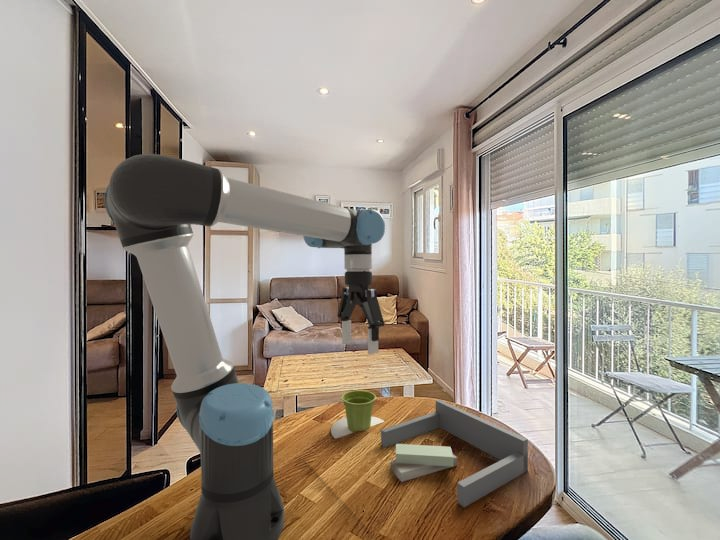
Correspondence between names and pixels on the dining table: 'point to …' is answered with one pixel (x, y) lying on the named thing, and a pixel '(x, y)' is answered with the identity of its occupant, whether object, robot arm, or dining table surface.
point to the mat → (342, 427)
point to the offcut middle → (415, 469)
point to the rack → (478, 434)
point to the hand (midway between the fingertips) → (359, 348)
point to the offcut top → (424, 455)
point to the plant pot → (358, 409)
